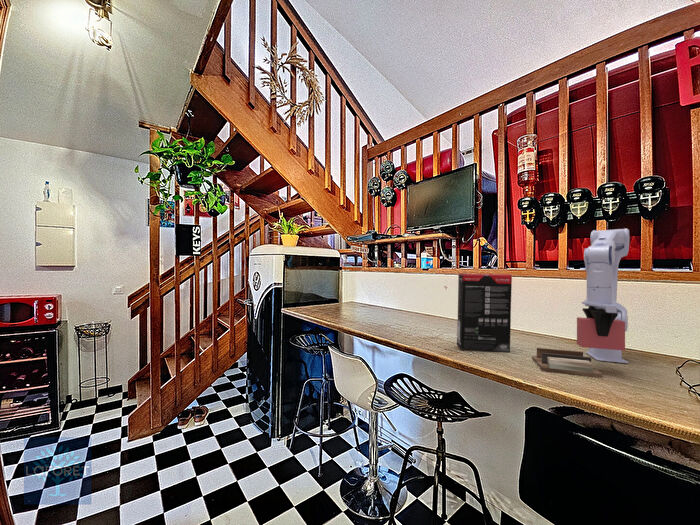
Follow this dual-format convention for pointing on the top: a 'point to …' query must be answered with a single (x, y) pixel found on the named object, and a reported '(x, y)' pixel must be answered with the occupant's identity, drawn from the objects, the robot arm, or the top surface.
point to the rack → (565, 362)
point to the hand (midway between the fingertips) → (599, 334)
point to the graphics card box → (484, 312)
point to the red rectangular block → (591, 339)
